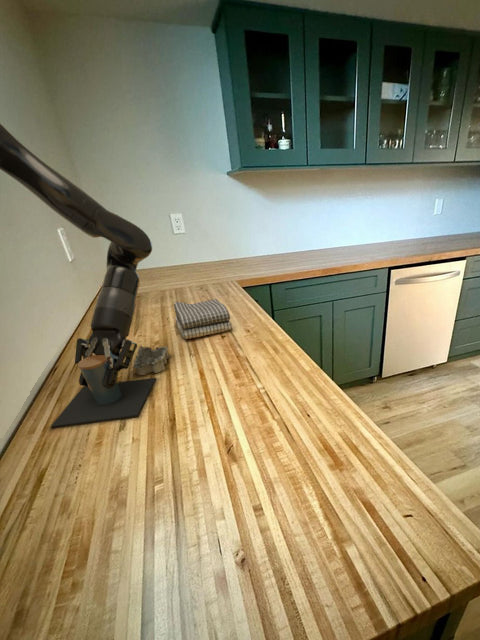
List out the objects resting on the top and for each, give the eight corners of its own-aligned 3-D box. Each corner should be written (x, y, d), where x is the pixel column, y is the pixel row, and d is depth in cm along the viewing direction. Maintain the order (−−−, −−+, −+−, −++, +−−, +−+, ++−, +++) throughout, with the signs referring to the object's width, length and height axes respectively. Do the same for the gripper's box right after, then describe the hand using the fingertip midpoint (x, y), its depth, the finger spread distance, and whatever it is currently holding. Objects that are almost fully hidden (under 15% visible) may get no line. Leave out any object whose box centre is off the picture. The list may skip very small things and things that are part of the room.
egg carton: (144, 358, 92) (140, 344, 90) (172, 354, 93) (168, 341, 91) (133, 377, 83) (127, 362, 81) (164, 373, 84) (159, 358, 82)
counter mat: (51, 428, 67) (50, 426, 67) (84, 388, 80) (83, 386, 80) (138, 417, 68) (137, 414, 68) (156, 379, 81) (155, 377, 81)
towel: (184, 343, 99) (178, 318, 95) (175, 324, 113) (169, 301, 109) (234, 331, 104) (230, 306, 100) (219, 314, 118) (215, 292, 114)
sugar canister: (91, 407, 72) (72, 368, 67) (101, 392, 77) (84, 356, 72) (117, 403, 72) (101, 365, 68) (126, 389, 77) (111, 352, 72)
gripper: (73, 305, 73) (52, 380, 69) (130, 305, 70) (111, 384, 66) (100, 318, 80) (82, 388, 76) (153, 319, 77) (137, 392, 73)
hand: (96, 386), depth 71 cm, fingers closed on sugar canister, 5 cm apart
